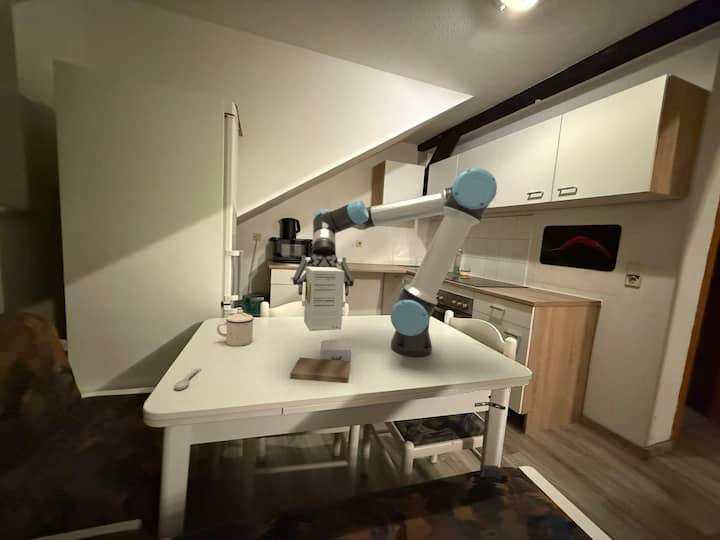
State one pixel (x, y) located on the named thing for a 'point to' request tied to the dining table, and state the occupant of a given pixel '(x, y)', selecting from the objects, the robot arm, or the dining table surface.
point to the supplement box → (323, 298)
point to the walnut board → (321, 370)
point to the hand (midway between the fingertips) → (323, 304)
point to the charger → (335, 350)
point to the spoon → (186, 380)
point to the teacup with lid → (238, 329)
